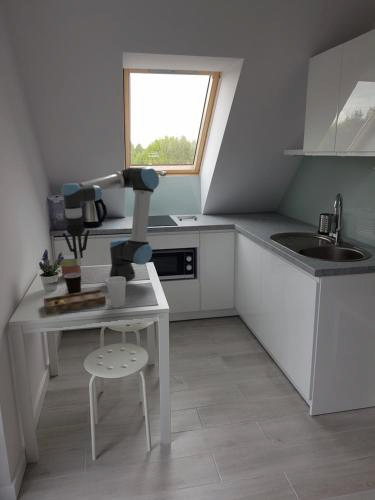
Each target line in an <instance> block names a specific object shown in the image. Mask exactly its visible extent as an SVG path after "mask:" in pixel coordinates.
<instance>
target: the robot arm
mask: <svg viewBox="0 0 375 500" xmlns="http://www.w3.org/2000/svg"><path fill="white" fill-rule="evenodd" d="M159 184H160V177H159V174H158V173H157V171H156V170H155V169H154V168H152V167H143V166H142V167H128V168H124V169H121V170H118V171H114V172H113V173H112V174H109V175H105V176H102V177H99V178H98V177H97V178H94V179H90V180H86V181H83V182H79V183H77V182H76V183H74V182H73V183H65V184H63V185H62V188H61V190H60V194H61V196H62V198H63V203H64V212H65V217H66V218H65V221H66V222H65V223H66V229H65V230H64V231H63V232H61V235H62V236H63V238H64V239H65V242H66V244H67V247H68V249H69V252H70V253H73V254H74V257H75V259H77V264H78V266H80V267H81V266H82V259H83V257H84V256H83V255H84V254H83V252H84V251H86V249H87V245H88V236H89V234H90V230H89V229H87V228H86V227H85V226H84V222H83V221H84V219H83V210H82V204H83V203H91V202H96V201H98V200H100V199H101V198H102V194H103V193H104V192H107V191H110V190H114V189H119V190H120V189H123V188H124V189H125V188H126V189H132V192H133V193H134V203H133V215H132V227H131V236H130V237H129V238H128V237H124V238H123V237H121V238H117V239H112V240H111V241H110V243H109V254H110V262H111V265H110V266H111V267H110V270H109V278H110V277H117V276H120V277H125V279H126V281H129V280H132V279H134V278H135V277H136V272H135V270H134V267H133V264H135V265H140V266H141V265H146V264H147V263H148V262H149V261H150V260H151V259H152V255H153V249H152V246H150V240H149V239H148V238H147V237H148V235H147V234H148V227H149V226H148V225H149V217H150V204H151V196H152V195H153V194H154V190H156V189H157V188H158V186H159ZM83 233H84V236H83V244H82V234H83ZM68 235H70V236H71V241H72V245H71V242H70V239H69V237H68ZM76 239H77V241H76ZM77 245H78V250H77Z"/></svg>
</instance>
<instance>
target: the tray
mask: <svg viewBox="0 0 375 500" xmlns="http://www.w3.org/2000/svg"><path fill="white" fill-rule="evenodd" d="M61 300H63V301H65V303H62V304H58V302H59V301H61ZM43 303H44V309H45V313H46V315H50V314H57V313H62V311H63V312H69V311H72V310H77V309H78V308H79V309H83V308H89V307H93V306H94V307H95V306H101V305H106V304H107V301H106V296H105V295H103V293H102V290H101V289H100V288H98V289H93V290H88V291H87V290H86V291H81V292H80V293H74V294H68V293H67V294H64V295H57V296H51V297H45V298H43Z"/></svg>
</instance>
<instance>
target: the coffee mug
mask: <svg viewBox="0 0 375 500" xmlns="http://www.w3.org/2000/svg"><path fill="white" fill-rule="evenodd" d="M64 277H65V278H64V280H65V285H66V288H67V292H68V293H67V295H68V294H74V293H80V292H82V273H81V274H80V273H70V274H67V275H65V276H64Z"/></svg>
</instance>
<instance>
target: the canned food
mask: <svg viewBox="0 0 375 500" xmlns="http://www.w3.org/2000/svg"><path fill="white" fill-rule="evenodd" d="M62 256H63V257H64V259H63V261H62V262H61V261H60V267H61V274H62V276H61V277H62V278H63V279H65V277H64V276H65V275H67V274H70V273H80V274H81V275H82V269H81V265H80V266H78V264H77V259H75V257H74V253H72V254H70V253H69V254H66V255H65V254H64V255H62Z"/></svg>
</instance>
